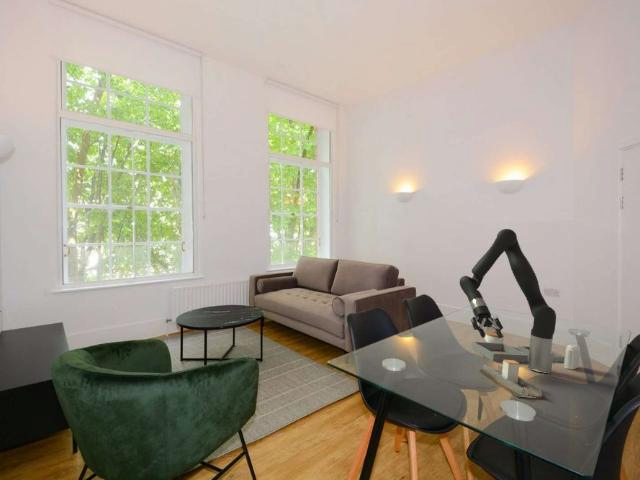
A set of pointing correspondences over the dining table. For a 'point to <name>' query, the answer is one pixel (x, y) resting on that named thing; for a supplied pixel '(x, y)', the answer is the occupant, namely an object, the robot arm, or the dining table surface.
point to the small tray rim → (556, 356)
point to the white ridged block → (572, 357)
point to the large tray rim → (512, 353)
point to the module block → (511, 370)
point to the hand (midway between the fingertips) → (492, 337)
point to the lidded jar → (493, 337)
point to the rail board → (508, 384)
